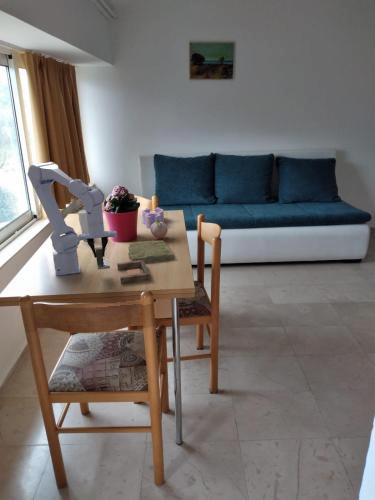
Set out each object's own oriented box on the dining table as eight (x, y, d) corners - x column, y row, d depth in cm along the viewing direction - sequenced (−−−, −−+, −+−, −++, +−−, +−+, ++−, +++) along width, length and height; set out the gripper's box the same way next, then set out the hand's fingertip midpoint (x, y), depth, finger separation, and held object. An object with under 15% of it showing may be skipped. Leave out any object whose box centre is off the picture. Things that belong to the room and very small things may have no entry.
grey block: (97, 269, 139) (95, 252, 137) (96, 262, 147) (94, 245, 144) (110, 268, 140) (108, 251, 138) (108, 260, 148) (106, 244, 145)
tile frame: (121, 284, 140) (120, 278, 139) (117, 268, 154) (117, 263, 153) (150, 280, 143) (149, 274, 142) (144, 265, 156) (143, 260, 155)
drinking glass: (96, 240, 188) (92, 212, 182) (82, 242, 185) (78, 213, 180) (94, 236, 194) (90, 208, 188) (81, 238, 191) (77, 210, 186)
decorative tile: (164, 245, 180) (163, 238, 179) (173, 260, 162) (173, 253, 160) (125, 250, 175) (124, 242, 174) (130, 266, 157) (130, 258, 156)
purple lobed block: (165, 228, 205) (164, 216, 202) (142, 229, 204) (141, 217, 201) (163, 218, 224) (163, 207, 221) (142, 219, 222) (142, 208, 220)
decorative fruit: (170, 240, 185) (170, 221, 182) (155, 243, 182) (154, 223, 179) (163, 235, 193) (162, 216, 190) (149, 237, 190) (147, 218, 186)
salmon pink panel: (128, 278, 146) (128, 275, 145) (127, 273, 150) (126, 270, 149) (141, 276, 147) (140, 273, 146) (139, 272, 151) (139, 268, 151)
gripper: (75, 227, 132) (79, 262, 137) (116, 223, 135) (119, 257, 140) (75, 221, 138) (79, 255, 143) (114, 218, 142) (117, 251, 147)
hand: (99, 256), depth 142 cm, fingers closed on grey block, 2 cm apart
